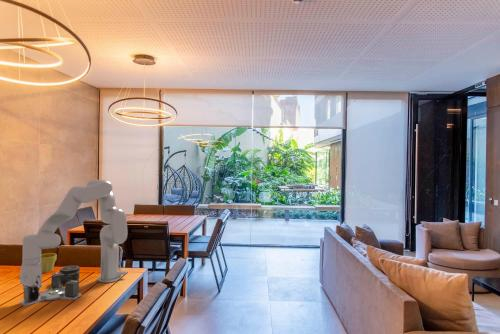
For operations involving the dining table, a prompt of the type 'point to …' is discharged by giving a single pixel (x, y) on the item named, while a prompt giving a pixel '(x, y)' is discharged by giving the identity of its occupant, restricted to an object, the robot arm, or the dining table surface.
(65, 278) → the jar
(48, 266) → the plant pot
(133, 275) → the dining table surface
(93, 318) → the dining table surface
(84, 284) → the dining table surface
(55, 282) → the knob
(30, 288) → the knob
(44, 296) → the tribrach base
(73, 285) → the knob
